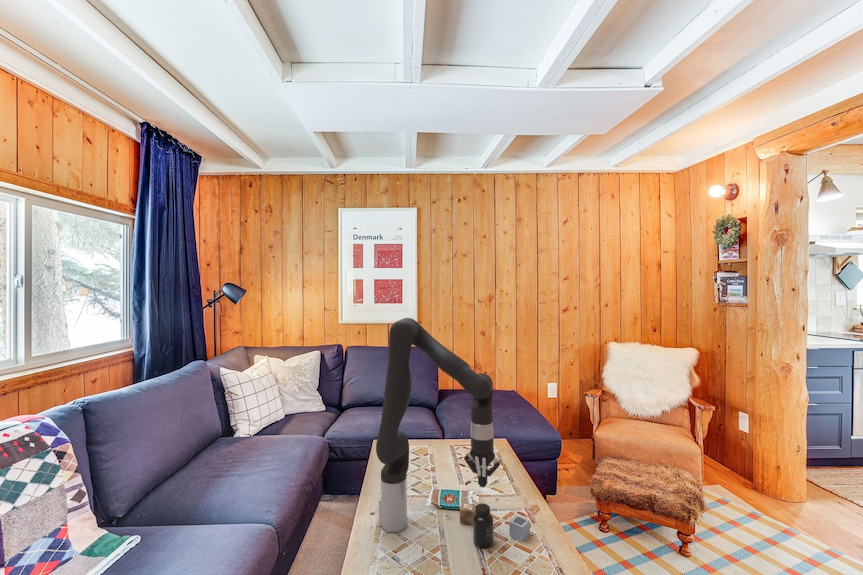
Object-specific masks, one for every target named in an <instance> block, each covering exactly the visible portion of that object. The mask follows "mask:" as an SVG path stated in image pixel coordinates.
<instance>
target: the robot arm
mask: <svg viewBox="0 0 863 575" xmlns="http://www.w3.org/2000/svg"><path fill="white" fill-rule="evenodd" d="M388 332H389V333H388V334H389V335H388V363H387V368H386V369H387V371H386V375H385V376H386V378H385V382H384V383H385V385H384V392H383V405H382V410H381V417H380V418H381V420H380V425H379V430H378V434H377V438H376V444H375V452H376V456H377V458H378V459H377V460H379V461H380V462H381V463H382V464H384V465H383V466H382V468H381V470H380V496H381V497H380V498H379V499H378V526H379V527H381V528H382V529H383V531H385V532H387V533H398V532H399V533H400V532H402V531H403V530H405V529H406V527H407V526H408V494H407V493H408V492H407V491H408V490H407V487H408V486H407V484H408V483H407V480H408V479H407V475H408V474H407V473H408V470H409V467H410V443H409V439H408V436H407V435H406V434H405V432H403V431H402V430H399V427H400V425H401V422H402V420H403V418H404V416H405V414H406V411H407V409H408V406H409V404H410V401H411V394H412V380H413V379H412V374H411V369H410V356H411V350H412V347H413V346H414V347H416V348H418V349H420V350H421V351H422V352H424V353H425V354H426V355H427V356H428V357H429V358H430V360H431V361H432V362H433V363H434V365H436V366H437V368H439V369H440V370H441V371H442V372H443V373H445V374H446V375H448V377H450V378H452V379H453V380H455V381H456V382H457V383H458V384H459V385H460V386H461V387H462V388H463V389H464V390H465V391H466V392H467V393H468V394H470V396H472V404H471V409H470V410H471V413H470V416H471V418H470V419H471V420H470V421H471V422H470V451H469V453H467V454H465V455H464V458H463V459H464V461H465V462H466V464H467V466H468V468H470V470H471V472H472V473H473V474H477V484H478V485H479V487H480V488H485V487H487V485H488V477H491V476H492V475H493V474H494V473H495V471H497V469H498V468H499V467H500V465H501V464H502V460H501V459H498V458H496V453H495V452H494V450H495V449H494V447H495V446H494V443H495V442H494V440H495V438H494V434H495V433H494V425H493V424H494V423H493V405H492V404H493V392H494V387H493V386H494V385H493V383H494V382H493V380H492V378H491V376H490V375H489V374H487V373H483V372H479V373H477V372H475V371H474V370H473V369H472V368H471V366H470V365H469V363H468V362H467V361H466V360H464V359H462V358H461V357H459V355H457V354H455V353H454V352H452V351H451V350H450V349H449V348H447V347H446V346H444V345H443V344H442V343H440V342H439V341H438V340H437V339H436V338H435V337H433V336H432V335H431V334H430V333H429V332H428V331H427V330H426V329H425V328H424V327H423V326H422V325H421V324H420V323H419V322H418V321H417V320H415V319H414V318H411V317H403V318H401V319H399V320H397V321H395V322H393V324H392V325H391V326H390V328H389V331H388ZM492 462H493V463H492ZM491 463H492V465H493V466H492V467H491V468H490V469H489V467H490V465H491Z"/></svg>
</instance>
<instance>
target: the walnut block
mask: <svg viewBox="0 0 863 575" xmlns="http://www.w3.org/2000/svg"><path fill="white" fill-rule="evenodd" d="M476 505H477V504H475V503H468V502H462V504H461V506H460V509H459V524H461V523H462V525H466V524H467V525H468V526H472V525H473V515H474V514H475V513H476Z"/></svg>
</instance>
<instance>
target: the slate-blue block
mask: <svg viewBox="0 0 863 575" xmlns="http://www.w3.org/2000/svg"><path fill="white" fill-rule="evenodd" d="M530 525H531V524H530V519H527V518H525V517H523V516H520V515H518V514H516V515H515V516H514V517H512V519H511V520H509V536H510V537H512V538H514V539H516V540H518V541H520V542H522V543H523V542H524V541H525V540H526V539H527V538H528V537H529V536H530V535H531V534H530V531H531V530H530V529H531V527H530Z"/></svg>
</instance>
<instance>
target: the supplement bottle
mask: <svg viewBox="0 0 863 575" xmlns="http://www.w3.org/2000/svg"><path fill="white" fill-rule="evenodd" d="M490 507H491V506H490V505H489V504H487V503H484V502H483V503H482V502H481V503H478V504H476V513H475V514H474V515H473V526H472V531H473V532H472V534H473V536H472V538H473V543H474V545H475V546H476V547H478V548H481V549H488V548H491V547H492V546H493V545H494V541H495V540H494V539H495V538H494V537H495V536H494V528H495V527H494V516H493V515H492V513H491V508H490Z"/></svg>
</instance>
